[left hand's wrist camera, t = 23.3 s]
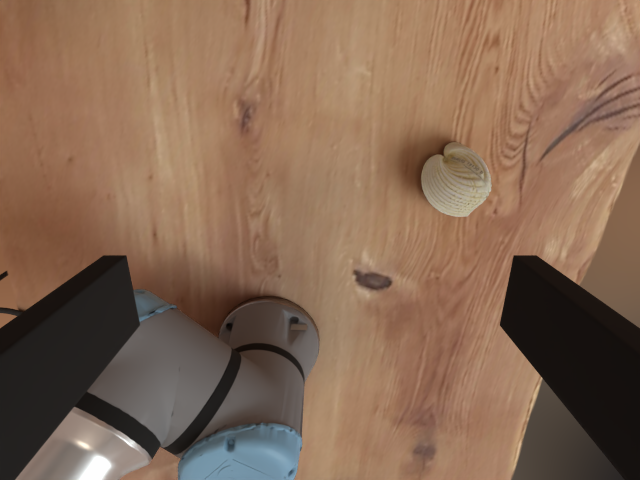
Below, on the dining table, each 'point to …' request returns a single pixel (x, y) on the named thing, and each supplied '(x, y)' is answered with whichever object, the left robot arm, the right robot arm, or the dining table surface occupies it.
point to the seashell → (456, 180)
